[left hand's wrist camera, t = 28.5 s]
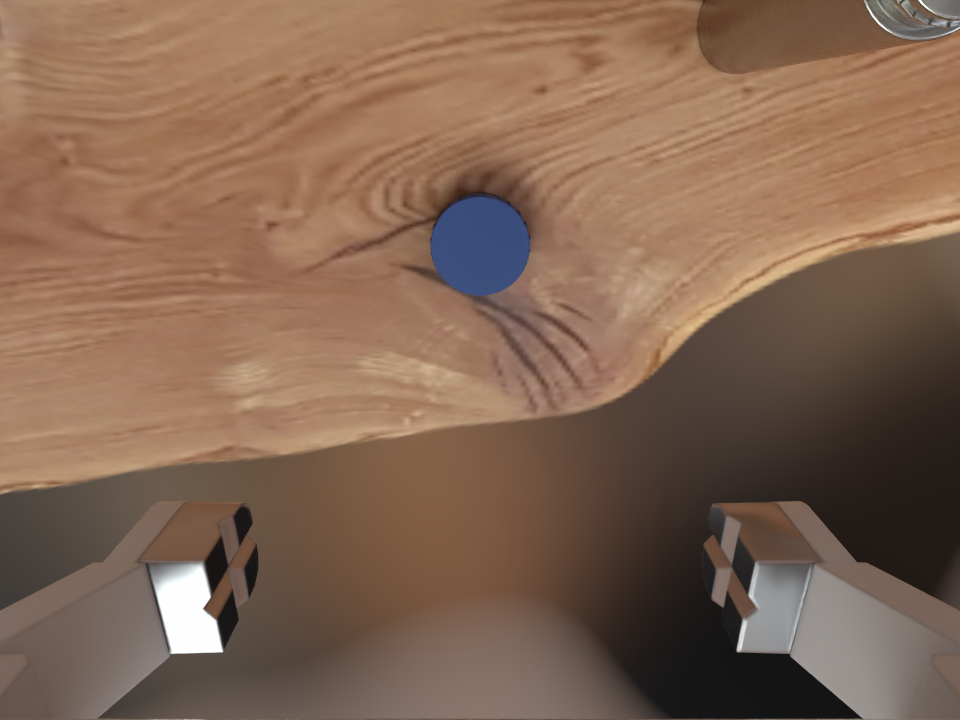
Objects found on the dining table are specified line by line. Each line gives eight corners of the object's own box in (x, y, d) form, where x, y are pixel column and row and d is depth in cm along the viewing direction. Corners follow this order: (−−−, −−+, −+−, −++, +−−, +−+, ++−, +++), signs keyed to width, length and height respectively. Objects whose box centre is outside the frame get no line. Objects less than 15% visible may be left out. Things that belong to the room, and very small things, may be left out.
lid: (460, 173, 35) (458, 176, 33) (546, 222, 36) (549, 227, 34) (415, 261, 36) (412, 267, 35) (499, 304, 37) (499, 313, 36)
